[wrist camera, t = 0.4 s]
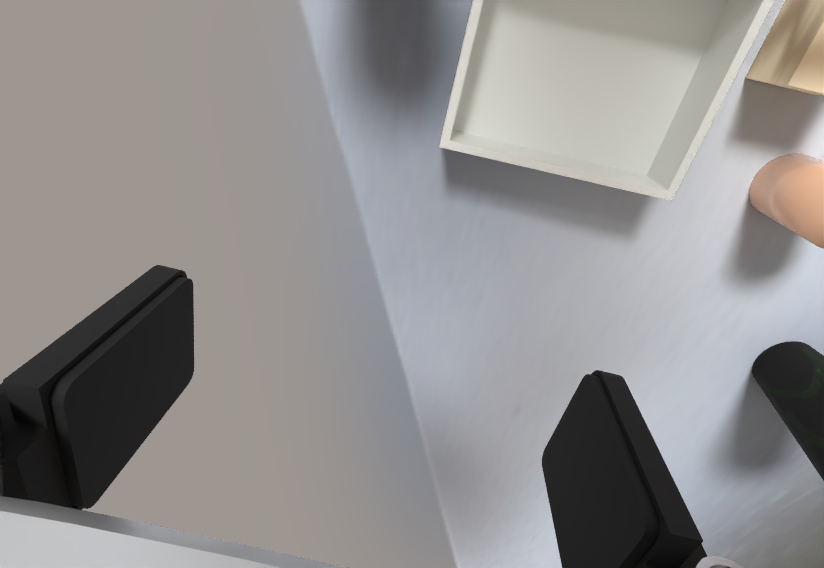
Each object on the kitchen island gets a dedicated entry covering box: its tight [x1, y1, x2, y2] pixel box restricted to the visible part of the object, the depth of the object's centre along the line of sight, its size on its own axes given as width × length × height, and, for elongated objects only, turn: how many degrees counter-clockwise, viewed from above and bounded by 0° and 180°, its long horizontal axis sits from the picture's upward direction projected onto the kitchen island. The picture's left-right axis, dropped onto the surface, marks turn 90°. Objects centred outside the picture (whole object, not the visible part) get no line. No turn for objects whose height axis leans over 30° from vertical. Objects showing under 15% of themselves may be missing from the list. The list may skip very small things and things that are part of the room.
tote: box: [439, 0, 774, 201], centre depth 32 cm, size 13×17×5 cm
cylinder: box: [749, 153, 824, 248], centre depth 33 cm, size 5×5×7 cm
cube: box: [745, 0, 824, 96], centre depth 30 cm, size 5×5×5 cm
